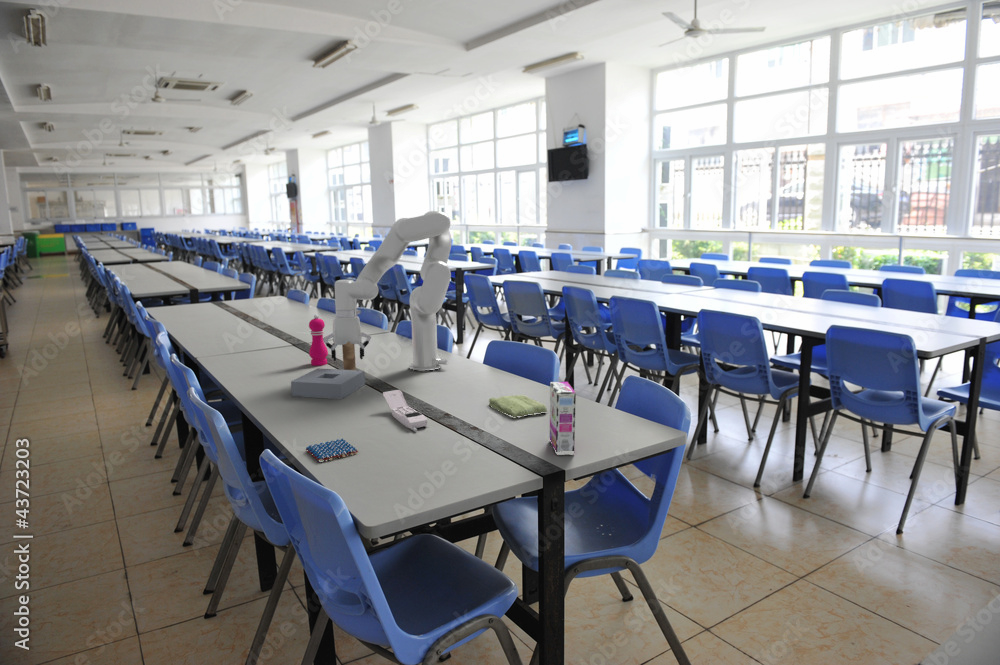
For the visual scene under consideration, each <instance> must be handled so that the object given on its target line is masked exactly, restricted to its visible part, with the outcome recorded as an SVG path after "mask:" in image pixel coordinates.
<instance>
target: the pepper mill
mask: <svg viewBox="0 0 1000 665" xmlns="http://www.w3.org/2000/svg"><path fill="white" fill-rule="evenodd" d="M308 328H309V329H310V335H311V338H312V341H311V345H310V348H309V352H308V353H309V354H308V355H309V357H310V358H311V360H310V365H311V366H315V367H319V366H325V365H328V359H327V356H328V355H329V351H328V347H327V346H326V344H325V342H324V341H323V338H324V334H325V332H324V329H325V321H324V320H323V319H321V318H319V315H318V314H314V315H313V318H312V319H311V320H309V323H308Z"/></svg>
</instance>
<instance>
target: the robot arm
mask: <svg viewBox="0 0 1000 665" xmlns="http://www.w3.org/2000/svg"><path fill="white" fill-rule="evenodd" d="M450 228H451V219H450V217H449V215H448V214H447V213H445V212H443V211H441V210H440V211H439V210H431V211H430V210H429V211H427V212H425V213H424V214H423V215H419V216H414V217H401V218H399V219H396V221H395V222H394V224H392V227H391V228H390V229H389V231H388V233H387V235H386V236H385V237H384V239H383V240H382V242H381V244H380V245H379V247H378V248H377V250H375V253H374V254H373V255H372V256H371V258H370V259H369V260H368V261H367V263H365V264H366V265H364V267H363V269H362V270H361V272H360V273H359V274H358V276H357V278H356V279H355V280H353V279H339V280H336V281H335V282H334V300H335V316H334V317H333V320H332V321H333V322H332V333H329V334H328V335H327V336H325V337H324V336H323V341H324V344H325V346H326V348H328V349H329V350H330V351H331V352H330V353H331V354H330V355H331V359H333V361H334V362H335V361H337V356H336V354H337V353H336V348H337V346H342V345H345V344H347V342H348V341H349V342H350V343H351V344H354V345H358V346H359V358H360V360H364V359H363V358H364V357H365V348H366V347H367V346H368V345H369V344H370V341H371V339H372V336H371V335H369V334H367V333H366V332H362V328H361V320H360V317H359V316H358V315H360V314H361V313H362V311H361V309H358V308H357V307H358V306H357V305H358V304H357V300H362V301H371V300H374V299H375V298H376V297H377V296H378V294H379V285H378V283H379V281H380V279H381V278H382V277H383V276H384V274H385V273H386V272H387V271H388V270H390V269H392V268H393V267H394V266H396V265H397V264H398V262H399V261H400V259H401V257H402V256H403V254H404V253H405V251H406V250H407V248H408V247H409V245H410V244H411V243H413V242H414V243H415V242H419V241H422V240H427V239H428V246H427V250H426V253H425V257H424V259H423V262H422V265H421V268H420V271H419V272H420V273H419V274H420V278H421V280H422V282H423V283H422V285H421V286H417V287H415V288H414V289H413V290H412V291H411V293H410V295H409V310H410V319H411V342H412V343H411V346H412V363H410V364H409V365H408V369H409V368H411V369H414V370H430V369H435V368H439V367H441V366H442V367H443V365H444V366H446V365H447V366H448V364H449V360H448V359H447V358H441V357H440V355H439V354H438V331H437V330H438V329H437V328H438V327H437V326H438V325H437V314H436V313H438V312H439V310H440V309H441V308H442V306H443V304H444V301H445V298H446V294H447V292H448V289H449V285H450V282H451V277H452V273H451V269H450V267H449V265H448V260H449V257H450V254H451V249H452V235H451V232H450ZM362 337H363V338H366V339H365V341H364V342H362V339H363V338H362ZM331 339H332V340H333V343H332V344H331V343H330V342H329V340H331ZM442 367H441V368H442ZM411 369H410V370H411ZM414 370H413V371H414Z"/></svg>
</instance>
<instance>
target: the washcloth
mask: <svg viewBox="0 0 1000 665" xmlns="http://www.w3.org/2000/svg"><path fill="white" fill-rule="evenodd" d="M488 400H489V401H488V402H489V403H488V406H489V405H490V406H492V407H493V408H492V407H491V408H492V409H494V408H495V409H497V410H499V411H501V412H503V413H506V414H508V415H511V416H513V417H517V416H524V415H528V414H534V413H541V412H548V410H547V406H546V404H544V403H542V402H539V401H537V400H534V399H532V398H530V397H528V396H527V395H525V394H517V395H512V394H511V395H504V396H500V397H491V398H489V399H488ZM490 406H489V407H490ZM495 409H494V410H495ZM497 410H496V411H497ZM499 411H498V412H499ZM501 412H500V413H501ZM503 413H502V414H503Z"/></svg>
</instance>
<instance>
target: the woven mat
mask: <svg viewBox="0 0 1000 665" xmlns="http://www.w3.org/2000/svg"><path fill="white" fill-rule="evenodd" d="M307 450H308V451H307ZM305 451H306V453H308V454H310V455H312V454H313V455H312V456H311V457H312V458H314V459H315V460H317V462H318V461H319V460H320V461H323V460H327V461H328V459H330V460H331V461H333V458H336V459H337V457H339V458H340V457H341V458H345V457H348V456H351V455H352V456H354V455H355V454H356V455H358V453H359V451H358V449H356V447H354V446H353V445H351V444H350V443H349V442H348V441H346V440H345V439H344V438H340V439H336V440H330V441H325V442H319V443H318V444H317V443H316V444H312V445H311V444H310V445H308V446H307V447H305ZM349 454H350V455H349ZM347 455H348V456H347ZM331 456H332V457H331ZM330 460H329V461H330Z"/></svg>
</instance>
